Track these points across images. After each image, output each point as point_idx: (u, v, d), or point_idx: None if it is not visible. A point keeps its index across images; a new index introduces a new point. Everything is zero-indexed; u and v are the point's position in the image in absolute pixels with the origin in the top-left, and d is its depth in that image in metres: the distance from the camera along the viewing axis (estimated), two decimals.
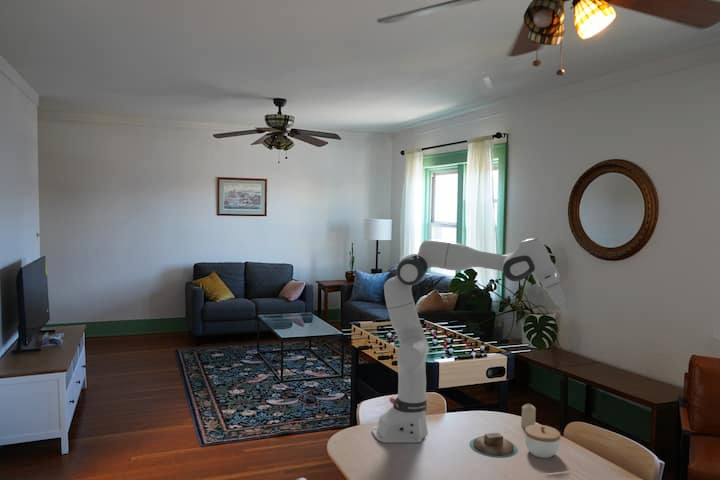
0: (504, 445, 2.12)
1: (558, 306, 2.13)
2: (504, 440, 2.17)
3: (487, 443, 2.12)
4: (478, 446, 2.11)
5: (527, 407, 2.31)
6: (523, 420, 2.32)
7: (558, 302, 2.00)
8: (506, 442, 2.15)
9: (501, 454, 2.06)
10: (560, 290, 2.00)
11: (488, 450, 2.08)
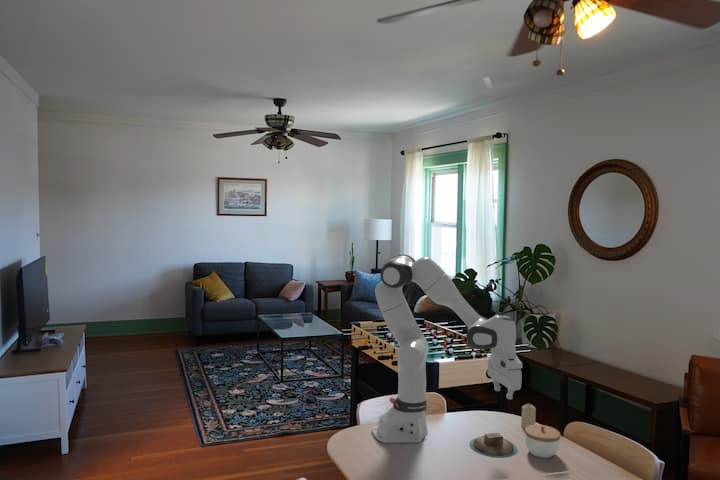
0: (504, 445, 2.12)
1: (496, 387, 2.15)
2: (504, 440, 2.17)
3: (487, 443, 2.12)
4: (478, 446, 2.11)
5: (527, 407, 2.31)
6: (523, 420, 2.32)
7: (514, 387, 2.01)
8: (506, 442, 2.15)
9: (501, 454, 2.06)
10: (520, 377, 2.01)
11: (488, 450, 2.08)
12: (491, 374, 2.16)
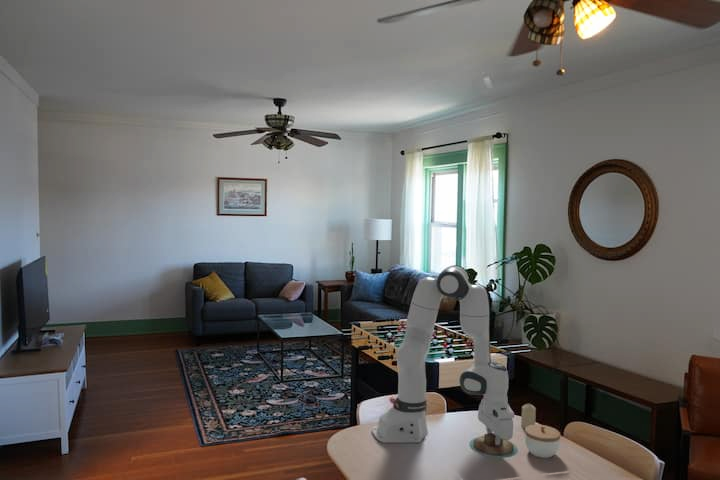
0: (504, 445, 2.12)
1: None
2: (504, 440, 2.17)
3: (487, 443, 2.12)
4: (478, 446, 2.11)
5: (527, 407, 2.31)
6: (523, 420, 2.32)
7: (506, 437, 2.03)
8: (506, 442, 2.15)
9: (501, 454, 2.06)
10: (512, 427, 2.04)
11: (488, 450, 2.08)
12: (481, 419, 2.18)
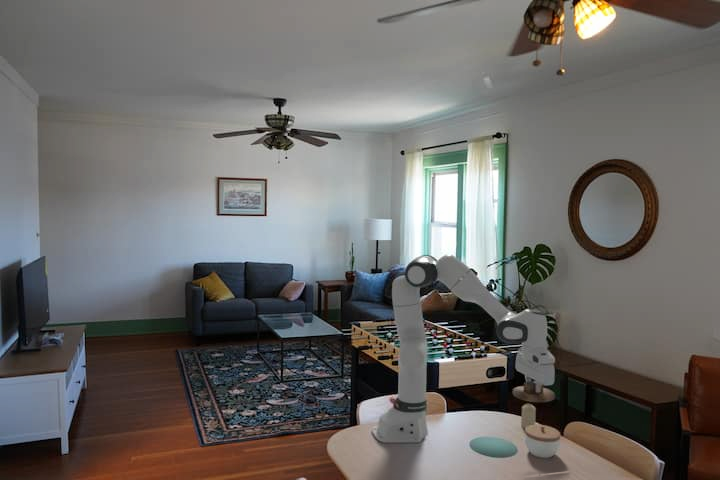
0: (545, 393, 2.07)
1: None
2: (544, 389, 2.12)
3: (527, 391, 2.06)
4: (518, 394, 2.06)
5: (527, 407, 2.31)
6: (523, 420, 2.32)
7: (548, 382, 1.98)
8: (546, 390, 2.10)
9: (543, 400, 2.01)
10: (553, 372, 1.98)
11: (529, 397, 2.03)
12: (519, 369, 2.13)
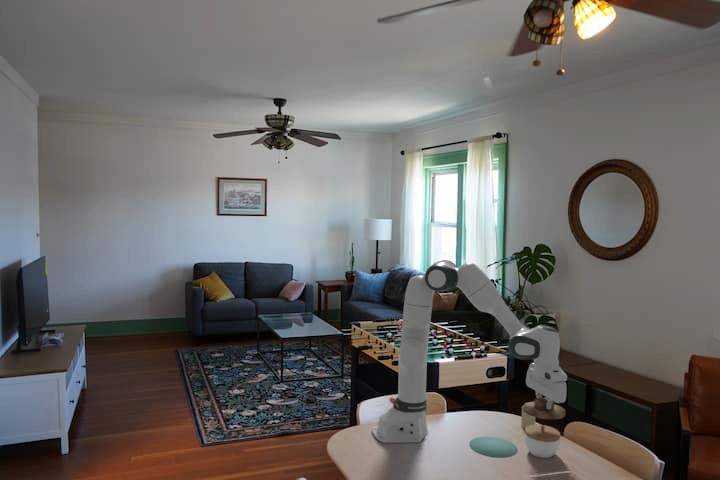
0: (555, 410, 2.07)
1: None
2: (554, 405, 2.11)
3: (538, 407, 2.06)
4: (529, 410, 2.05)
5: None
6: (523, 420, 2.32)
7: (559, 400, 1.97)
8: (557, 407, 2.09)
9: (554, 418, 2.00)
10: (565, 389, 1.98)
11: (540, 414, 2.02)
12: (530, 385, 2.13)
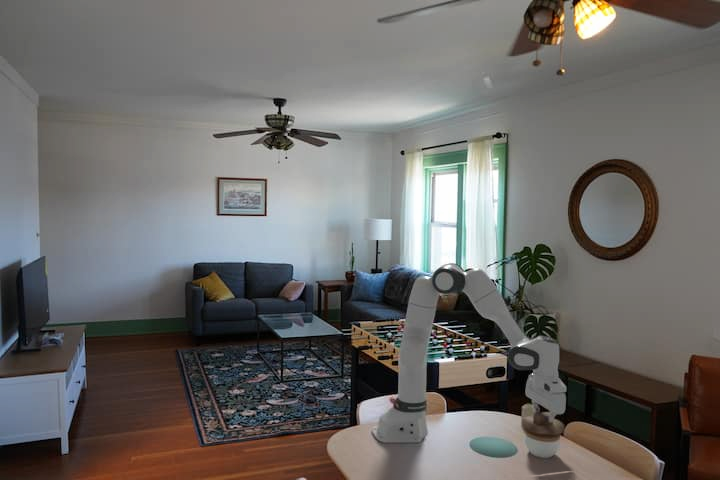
0: (554, 424, 2.07)
1: (535, 409, 2.11)
2: None
3: (537, 422, 2.06)
4: (528, 425, 2.06)
5: (527, 407, 2.31)
6: None
7: (559, 411, 1.98)
8: (555, 421, 2.10)
9: (553, 433, 2.01)
10: (564, 401, 1.98)
11: (539, 429, 2.03)
12: (529, 395, 2.13)
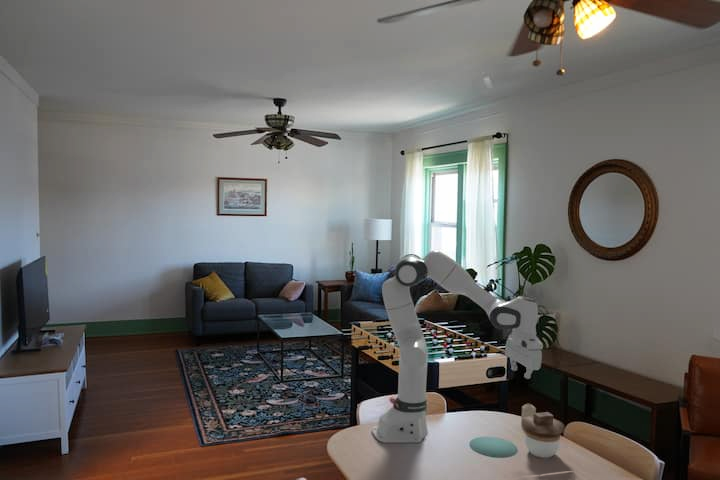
0: (554, 424, 2.07)
1: (513, 367, 2.19)
2: (553, 420, 2.12)
3: (537, 422, 2.06)
4: (528, 425, 2.06)
5: (527, 407, 2.31)
6: None
7: (534, 367, 2.05)
8: (556, 422, 2.10)
9: (552, 433, 2.01)
10: (540, 357, 2.06)
11: (539, 429, 2.03)
12: (508, 354, 2.21)
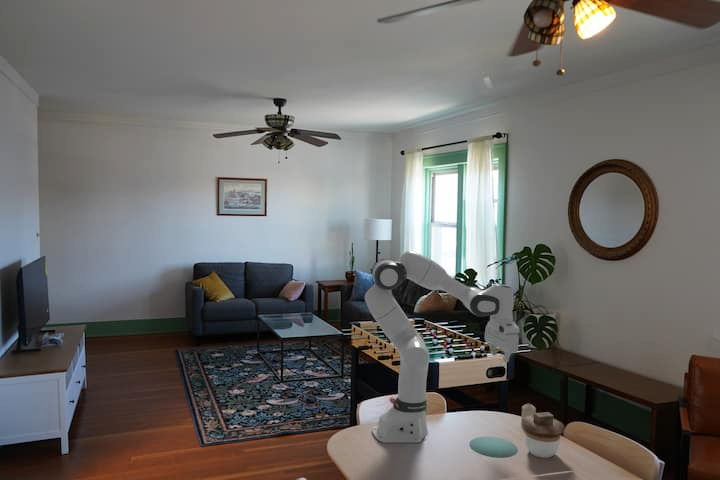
0: (554, 425, 2.07)
1: (492, 351, 2.28)
2: (553, 420, 2.12)
3: (537, 422, 2.06)
4: (528, 425, 2.06)
5: (527, 407, 2.31)
6: None
7: (512, 350, 2.14)
8: (556, 422, 2.10)
9: (552, 433, 2.01)
10: (517, 341, 2.15)
11: (539, 429, 2.03)
12: (488, 339, 2.30)
